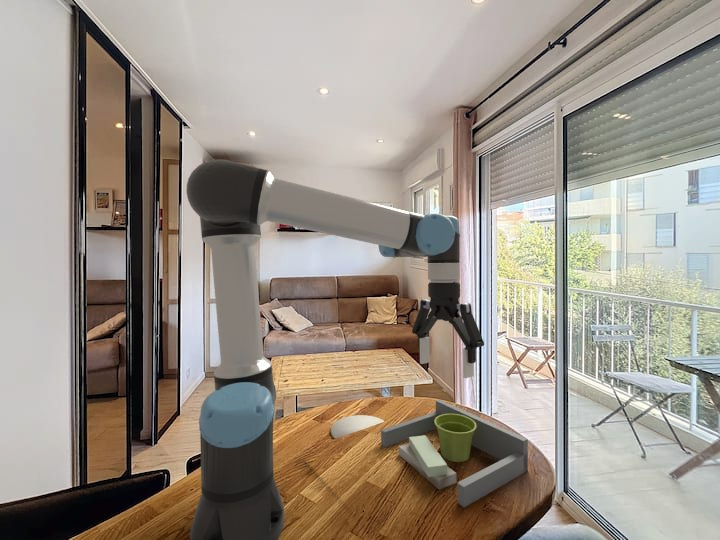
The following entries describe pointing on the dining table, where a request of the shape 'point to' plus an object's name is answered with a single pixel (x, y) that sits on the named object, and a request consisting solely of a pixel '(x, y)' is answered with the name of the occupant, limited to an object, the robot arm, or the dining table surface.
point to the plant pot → (455, 436)
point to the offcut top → (428, 456)
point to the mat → (353, 424)
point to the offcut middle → (413, 461)
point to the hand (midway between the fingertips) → (445, 369)
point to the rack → (485, 437)
